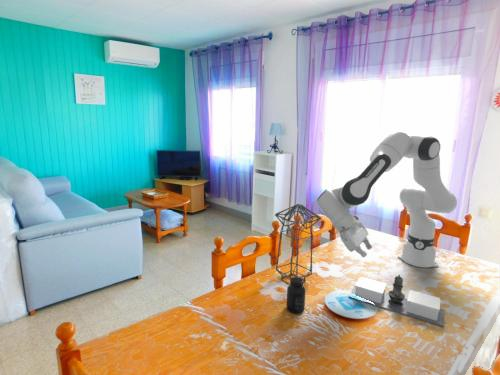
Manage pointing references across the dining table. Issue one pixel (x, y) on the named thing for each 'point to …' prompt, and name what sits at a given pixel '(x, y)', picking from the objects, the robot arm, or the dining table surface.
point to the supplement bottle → (296, 296)
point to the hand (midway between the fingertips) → (367, 252)
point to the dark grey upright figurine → (397, 292)
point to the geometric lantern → (297, 236)
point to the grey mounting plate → (413, 306)
